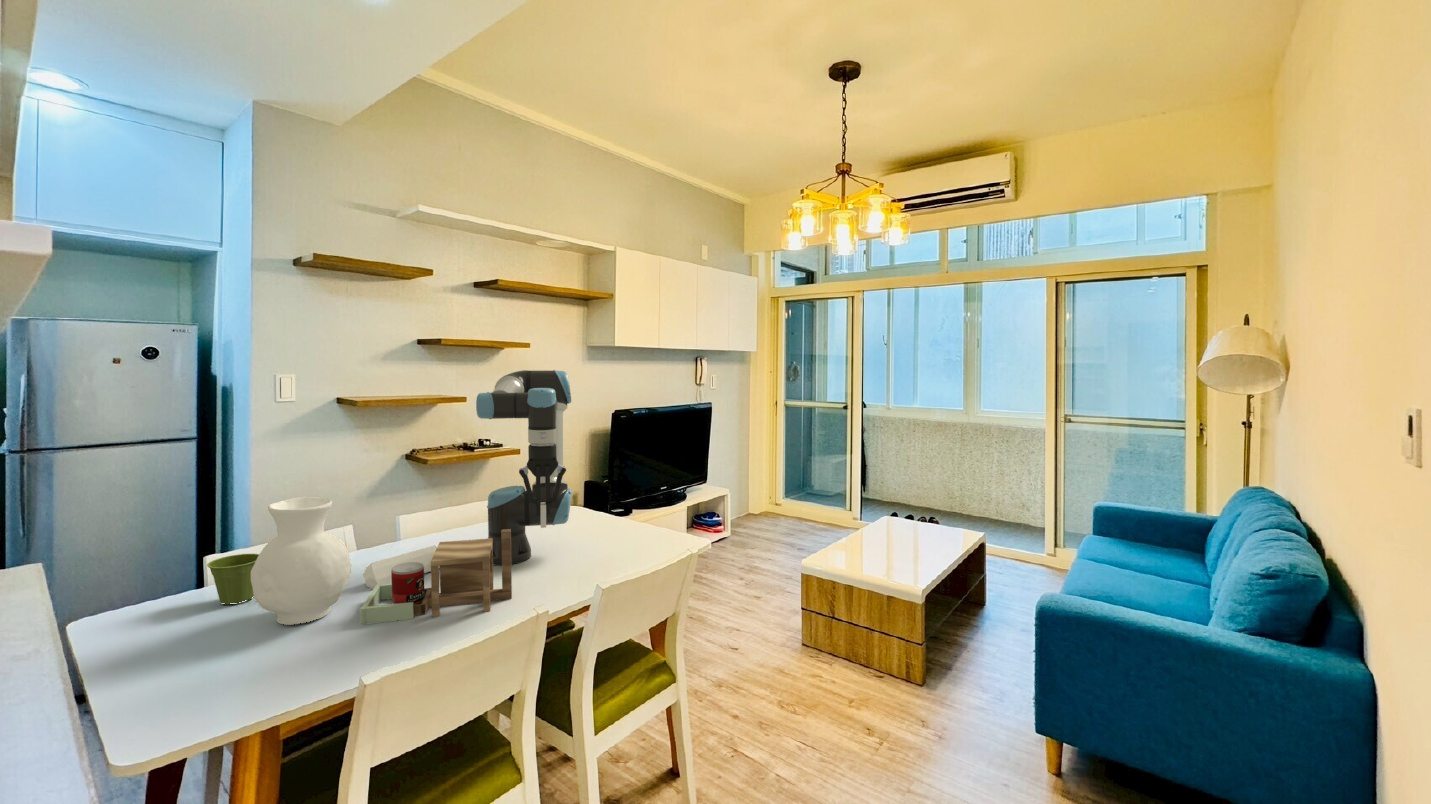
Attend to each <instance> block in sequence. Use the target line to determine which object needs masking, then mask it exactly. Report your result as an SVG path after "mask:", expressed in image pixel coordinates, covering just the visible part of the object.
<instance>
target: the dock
mask: <svg viewBox="0 0 1431 804" xmlns="http://www.w3.org/2000/svg"><path fill="white" fill-rule="evenodd" d="M382 599H387V600H392V583H390V584H379V585H376V586H375V587H374V588H372V590H371V591H370V593H369V595H368V597H367V598H366V599H365V601H364V603H363V605H362V606H361V607H360V609H359V610H360V625H361V624H362V625H368V624H367V623H371V624H378V622H381V623H386V621H390V622H397V621H396V620H399V621H407V620H414V618H415V615H414V606H413V602H409V603H399V604H392V603H390V604H379V603H380V602H381V601H383V600H382Z"/></svg>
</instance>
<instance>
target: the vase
mask: <svg viewBox="0 0 1431 804" xmlns="http://www.w3.org/2000/svg"><path fill="white" fill-rule="evenodd" d="M332 506H333V500H331V499H330V498H329V497H328V498H326V497H321V496H299V497H292V498H288V499H285V500H280V501H278V502H273V503H271V504H269V505H268V506H267V511H268V513H269V514H270V516H271V517H272V520H273V521H274V522H275V526H276V530H277V536H276V537H274V538H272V539H271V540H270V541H269V542H268V543H266V544H265V546H264V547H263V548H262V550H261V551H260V553H259V556H258V558H257V560H256V561H255V564H254V566H253V568H252V570H251V584H252V588H253V594H254V597H253V599H254V600H255V602H256V603H257V604H258V605H259V606H260V607H261V608H262V609H264V610H266V611H268V612H271V613H273V614H276V622H277V623H278V624H280V625H283V624H284V626H292V625H294V624H295V625H300V623H301V624H305V623H306V622H307V623H310V621H311V622H313V620H314V621H317V620H320V619H322V618H324V617H326V616H327V615H328V614H329V613H330V612H331V607H332V606H333V605H335V604H336V603H337V602H338V600H339V598H340V597H341V596H342V594H343V593H344V590H345V589H346V587H347V585H348V583H349V579H350V577H351V573H352V563H351V557H350V554H349V550H348V548H347V546H346V544H345V542H344V541H343V540H341V539H340V538H339V537H336V536H335V535H334V534H331V533H330V532H326V531H325V522H326V519H327V516H328V514H329V511H330V509H331V507H332ZM325 615H326V616H325ZM316 619H317V620H316ZM295 625H294V626H295Z"/></svg>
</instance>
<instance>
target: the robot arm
mask: <svg viewBox="0 0 1431 804" xmlns="http://www.w3.org/2000/svg"><path fill="white" fill-rule="evenodd" d="M475 400H476V401H475V405H476V406H475V407H476V415H477V417H478V418H479V419H481V420H482V419H484V420H485V419H488V420H495V419H499V420H500V419H527V420H528V422H527V423H528V424H527V425H528V427H527V430H528V431H527V433H528V434H527V435H528V436H527V437H528V438H527V442H528V443H529V445H528V448H527V449H528V451H527V452H528V461H527V462H526V465H525V466H524V467H520V468H519V470H518V473H519V475H520V477H521V478H522V480H523V483H524V484H523V485H524V486H523V485H509V486H505V487H501V488H498V489H495V490H493V491H491V492H490V493H489V494H488V496H487V505H486V508H487V524H488V525H487V526H488V527H487V530H488V531H487V533H488V534H487V535H488V536H487V539H488V538H493V566H502V544H501V531H502V530H505V529H511V565H514V564H519V563H522V562H524V561H528V560H529V559H531V557H532V549H531V545H530V542H529V539H528V537H527V534H526V527H534V526H540V529H543V528H544V529H545V528H547V526H555V525H563V524H566V523H567V522H568V520H569V516H570V511H571V503H572V502H571V501H572V495H573V494H572V493H573V490H572V489H571V488H568V485H569V484H568V483H567V482H566V481H565V479H564V475H565V473H566V472H567V467H565V466H564V412H566V410H567V409H568V405H569V404H571V403H572V394H571V385H570V379H569V374H568V373H567V372H566V371H564V370H556V369H553V370H529V369H528V370H526V369H525V370H523V369H522V370H518V371H514V372H513V371H512V372H510V373H508V374H505V375H503V376H502V377H501V378H499V379H498V380H497V381H496V383H495V385H494V388H493V391H492V392H489V391H486V392H479V393H478V394H477V396H476V399H475ZM529 471H530V472H531V473H532V475H533V476H534V477H535V482H534V483H532V485H531V483H530V479H529V476H528V474H529Z"/></svg>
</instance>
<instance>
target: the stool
mask: <svg viewBox="0 0 1431 804" xmlns="http://www.w3.org/2000/svg"><path fill="white" fill-rule="evenodd" d="M436 547H437V549H436V551H435V553H434V555H433V558H432V560H431V571H430V583H431V587H430V588H431V591H432V607H431V617H432V618H435V617H440V614H441V611H440V610H441V606H440V601H439V595H442V594H453V593H463V592H473V591H483V612H490V611H491V601H490V590H494V565H493V538H488V537H487V538H477V539H476V538H475V539H463V540H452V541H451V540H450V541H448V540H447V541H440V542H438V545H437V546H436ZM439 565H440V568H439Z"/></svg>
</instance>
